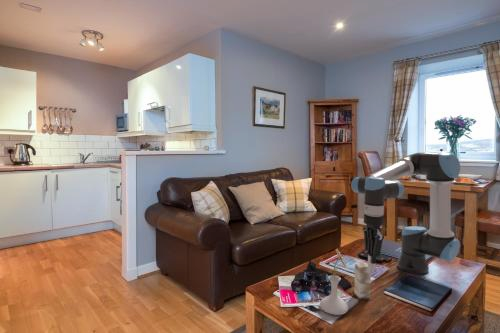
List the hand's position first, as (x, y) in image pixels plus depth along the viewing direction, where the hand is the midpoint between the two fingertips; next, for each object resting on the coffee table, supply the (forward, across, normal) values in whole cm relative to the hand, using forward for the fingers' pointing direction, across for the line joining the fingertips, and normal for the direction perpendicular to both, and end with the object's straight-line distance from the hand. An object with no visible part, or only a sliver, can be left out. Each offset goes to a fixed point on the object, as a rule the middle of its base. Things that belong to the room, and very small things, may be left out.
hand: (371, 269), depth 121 cm
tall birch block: (+16, -8, 0) cm, 18 cm away
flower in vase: (+17, 0, -16) cm, 23 cm away
